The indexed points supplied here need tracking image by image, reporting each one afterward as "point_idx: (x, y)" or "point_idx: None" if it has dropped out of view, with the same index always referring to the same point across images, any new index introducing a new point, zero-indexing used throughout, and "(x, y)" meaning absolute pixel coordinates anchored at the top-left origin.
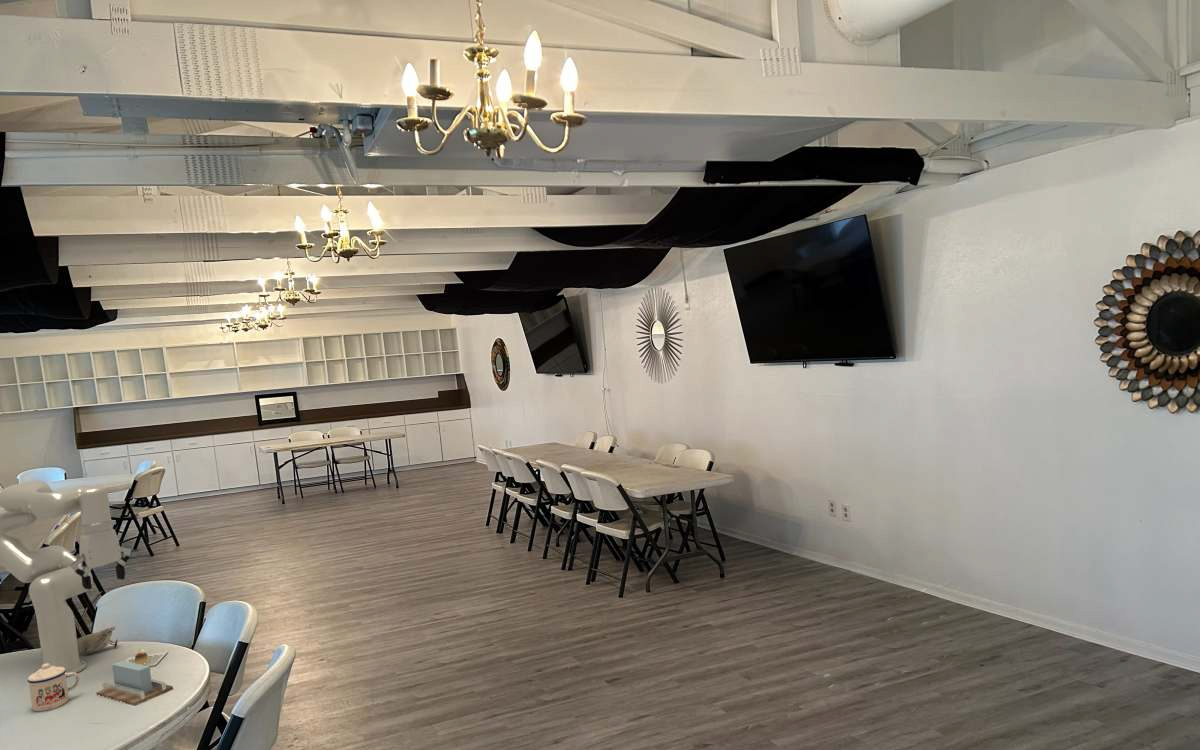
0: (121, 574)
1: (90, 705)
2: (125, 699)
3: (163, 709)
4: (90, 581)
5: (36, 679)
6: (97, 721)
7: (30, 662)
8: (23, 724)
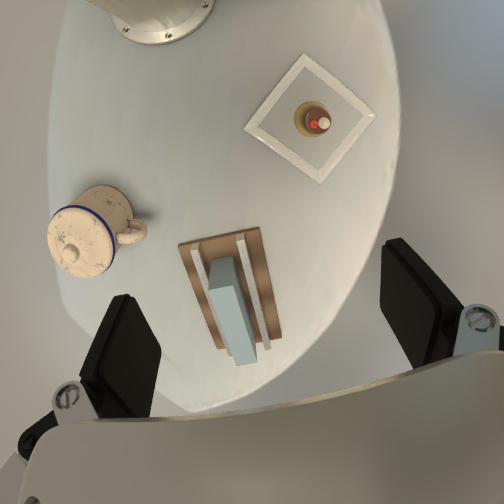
0: (394, 329)
1: (162, 286)
2: (210, 328)
3: (241, 382)
4: (150, 394)
5: (62, 267)
6: (165, 352)
7: None
8: None
